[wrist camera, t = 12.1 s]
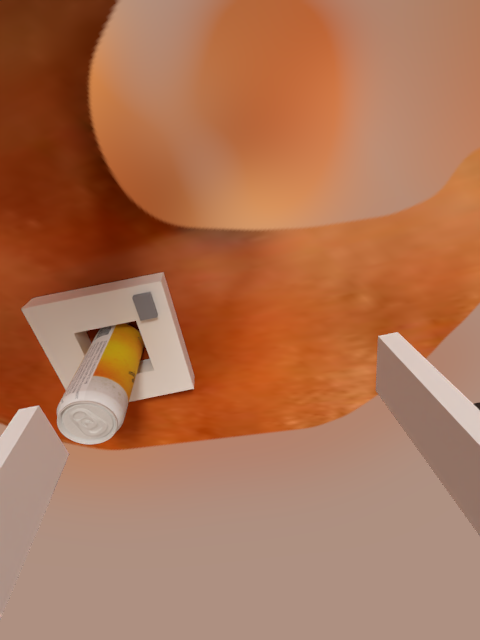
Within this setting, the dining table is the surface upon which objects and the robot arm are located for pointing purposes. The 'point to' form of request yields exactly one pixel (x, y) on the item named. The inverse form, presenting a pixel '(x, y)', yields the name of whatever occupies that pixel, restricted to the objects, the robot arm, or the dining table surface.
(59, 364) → the socket plate
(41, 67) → the dining table surface
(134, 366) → the beer can
